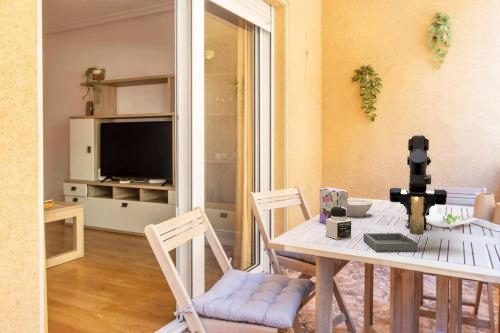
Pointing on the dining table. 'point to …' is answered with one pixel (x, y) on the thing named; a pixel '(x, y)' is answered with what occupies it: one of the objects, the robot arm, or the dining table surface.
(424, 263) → the dining table surface
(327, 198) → the candy box
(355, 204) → the bowl
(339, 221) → the medicine bottle
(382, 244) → the tray
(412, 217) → the golden metal cylinder
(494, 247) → the dining table surface
